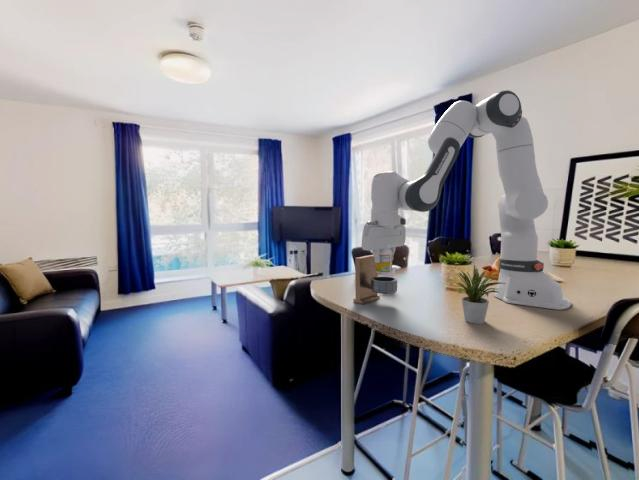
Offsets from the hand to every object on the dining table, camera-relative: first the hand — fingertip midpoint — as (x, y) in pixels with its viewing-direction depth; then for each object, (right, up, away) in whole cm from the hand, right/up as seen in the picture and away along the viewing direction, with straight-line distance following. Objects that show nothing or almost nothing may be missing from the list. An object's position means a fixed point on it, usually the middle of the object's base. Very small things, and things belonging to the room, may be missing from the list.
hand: (384, 261), depth 108 cm
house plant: (+22, -17, -16) cm, 32 cm away
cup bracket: (-1, -15, +3) cm, 15 cm away
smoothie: (+6, -13, +22) cm, 26 cm away
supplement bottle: (0, -4, 0) cm, 4 cm away
